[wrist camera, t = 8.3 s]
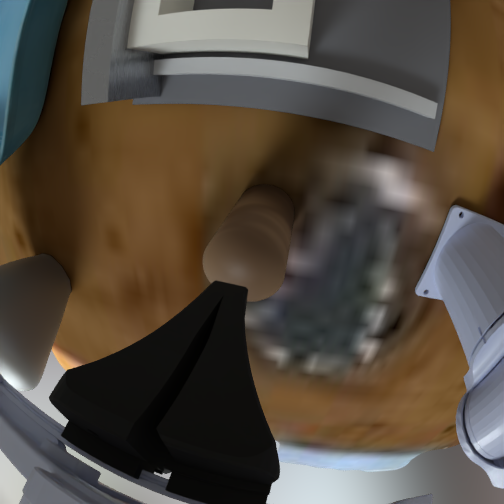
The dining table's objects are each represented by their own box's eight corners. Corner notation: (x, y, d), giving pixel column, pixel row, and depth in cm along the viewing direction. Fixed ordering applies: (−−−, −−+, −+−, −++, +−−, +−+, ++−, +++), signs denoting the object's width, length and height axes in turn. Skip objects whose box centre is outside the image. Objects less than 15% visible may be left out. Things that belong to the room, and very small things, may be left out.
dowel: (299, 190, 18) (292, 241, 12) (289, 242, 20) (277, 308, 14) (240, 179, 18) (203, 224, 12) (235, 231, 20) (202, 291, 14)
